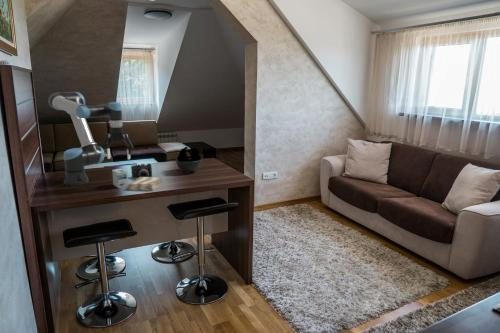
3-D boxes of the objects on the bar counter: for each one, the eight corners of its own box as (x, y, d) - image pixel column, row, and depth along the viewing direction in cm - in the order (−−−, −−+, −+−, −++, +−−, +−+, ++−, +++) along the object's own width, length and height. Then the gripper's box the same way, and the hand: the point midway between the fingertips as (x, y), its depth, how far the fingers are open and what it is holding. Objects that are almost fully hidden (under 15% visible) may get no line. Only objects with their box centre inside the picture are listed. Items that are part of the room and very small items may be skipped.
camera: (132, 181, 240) (131, 167, 238) (131, 177, 250) (130, 163, 248) (153, 179, 245) (152, 165, 243) (151, 175, 255) (151, 162, 253)
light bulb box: (128, 186, 227) (127, 171, 224) (118, 188, 223) (117, 172, 220) (122, 183, 235) (121, 168, 232) (112, 184, 230) (111, 169, 228)
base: (128, 189, 220) (128, 183, 219) (139, 182, 238) (139, 176, 237) (152, 190, 219) (152, 184, 218) (161, 182, 236) (161, 177, 235)
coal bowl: (199, 175, 257) (199, 150, 252) (173, 174, 257) (172, 150, 252) (203, 168, 276) (203, 146, 272) (179, 168, 276) (178, 145, 272)
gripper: (94, 127, 217) (97, 159, 222) (132, 127, 215) (135, 160, 220) (100, 125, 224) (103, 156, 229) (137, 126, 222) (139, 158, 227)
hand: (119, 158), depth 225 cm, fingers open, 13 cm apart
